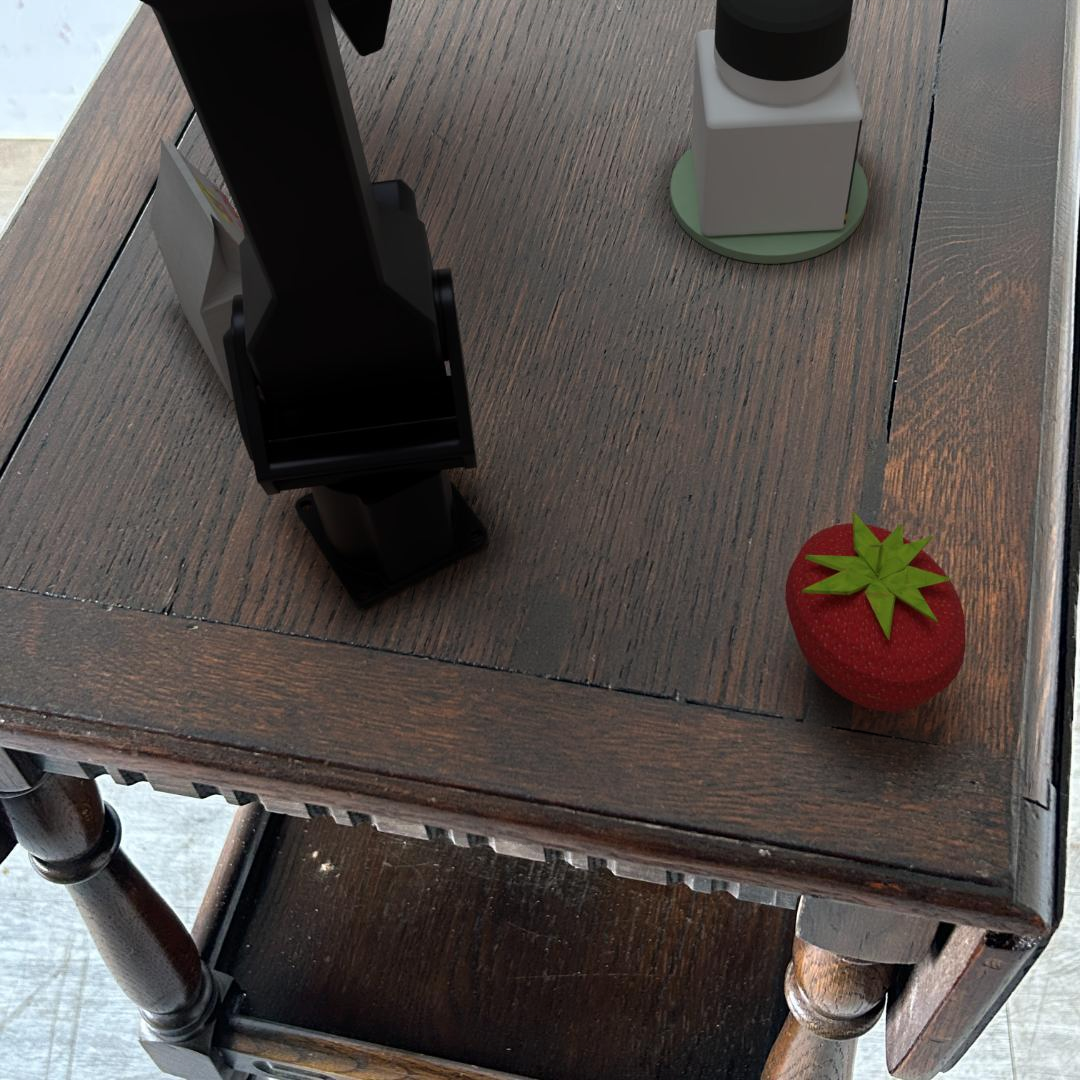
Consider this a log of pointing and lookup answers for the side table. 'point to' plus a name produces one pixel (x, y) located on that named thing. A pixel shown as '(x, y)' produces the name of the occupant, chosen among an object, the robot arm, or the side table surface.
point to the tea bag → (198, 250)
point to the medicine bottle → (775, 117)
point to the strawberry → (875, 616)
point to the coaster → (767, 244)
